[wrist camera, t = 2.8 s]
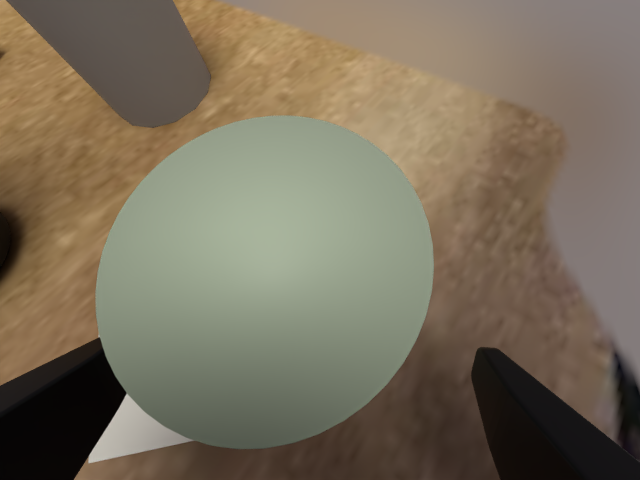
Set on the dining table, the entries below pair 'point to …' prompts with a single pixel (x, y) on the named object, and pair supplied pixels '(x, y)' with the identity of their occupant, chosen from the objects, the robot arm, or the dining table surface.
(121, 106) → the cup
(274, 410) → the roller
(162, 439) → the pad
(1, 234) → the cola bottle
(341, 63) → the dining table surface
